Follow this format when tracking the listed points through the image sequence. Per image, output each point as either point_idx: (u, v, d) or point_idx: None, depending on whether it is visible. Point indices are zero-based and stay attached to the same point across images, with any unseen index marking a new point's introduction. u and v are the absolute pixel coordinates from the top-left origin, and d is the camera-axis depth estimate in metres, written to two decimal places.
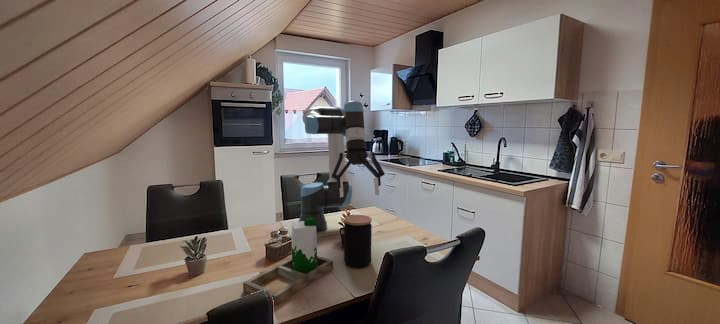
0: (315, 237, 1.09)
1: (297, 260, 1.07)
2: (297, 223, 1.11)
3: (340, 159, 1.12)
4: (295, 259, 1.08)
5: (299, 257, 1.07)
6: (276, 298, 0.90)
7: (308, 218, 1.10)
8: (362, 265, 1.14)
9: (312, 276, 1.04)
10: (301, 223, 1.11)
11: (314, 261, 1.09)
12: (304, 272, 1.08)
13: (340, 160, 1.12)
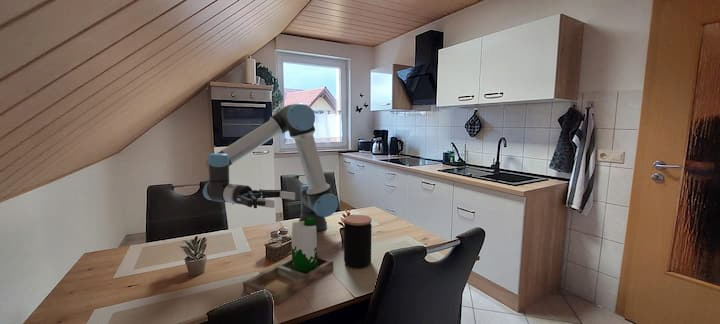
0: (315, 237, 1.09)
1: (297, 260, 1.07)
2: (297, 223, 1.11)
3: None
4: (295, 259, 1.08)
5: (299, 257, 1.07)
6: (276, 298, 0.90)
7: (308, 218, 1.10)
8: (362, 265, 1.14)
9: (312, 276, 1.04)
10: (301, 222, 1.11)
11: (314, 261, 1.09)
12: (304, 272, 1.08)
13: None
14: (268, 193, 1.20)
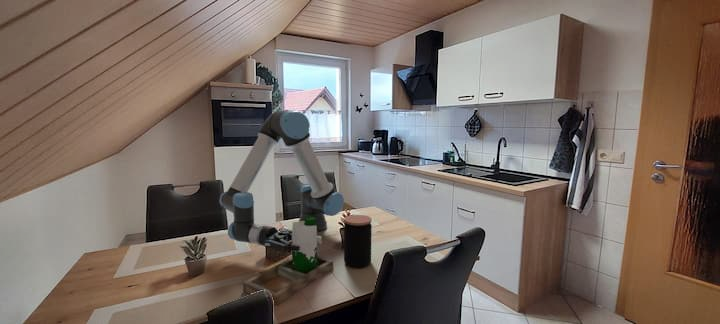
0: (315, 237, 1.09)
1: (297, 260, 1.07)
2: (297, 223, 1.11)
3: None
4: (295, 259, 1.08)
5: (300, 257, 1.07)
6: (276, 298, 0.90)
7: (308, 218, 1.11)
8: (362, 265, 1.14)
9: (312, 276, 1.04)
10: (301, 222, 1.11)
11: (315, 261, 1.09)
12: (304, 272, 1.08)
13: None
14: None
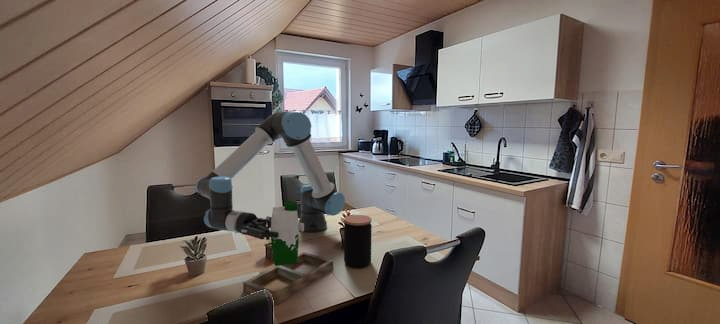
0: (296, 223, 1.00)
1: (276, 248, 0.99)
2: (277, 208, 1.03)
3: None
4: (274, 246, 0.99)
5: (279, 245, 0.98)
6: (276, 298, 0.90)
7: (289, 203, 1.02)
8: (362, 265, 1.14)
9: (312, 276, 1.04)
10: (281, 208, 1.02)
11: (296, 250, 1.01)
12: (284, 261, 1.00)
13: None
14: None
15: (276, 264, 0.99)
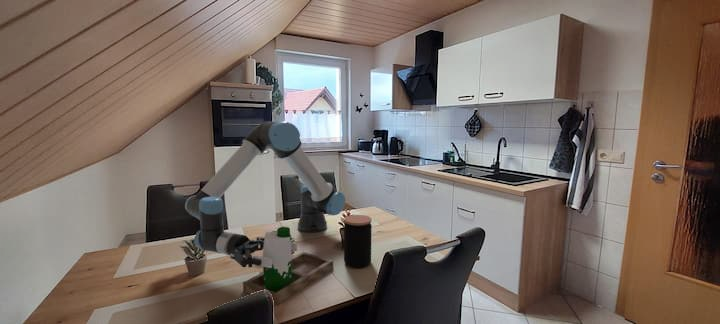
0: (289, 250, 0.97)
1: (268, 276, 0.96)
2: (270, 234, 1.00)
3: None
4: (266, 274, 0.97)
5: (271, 273, 0.96)
6: (276, 298, 0.90)
7: (282, 228, 0.99)
8: (362, 265, 1.14)
9: (312, 276, 1.04)
10: (274, 233, 1.00)
11: (288, 277, 0.98)
12: (276, 289, 0.97)
13: None
14: None
15: None
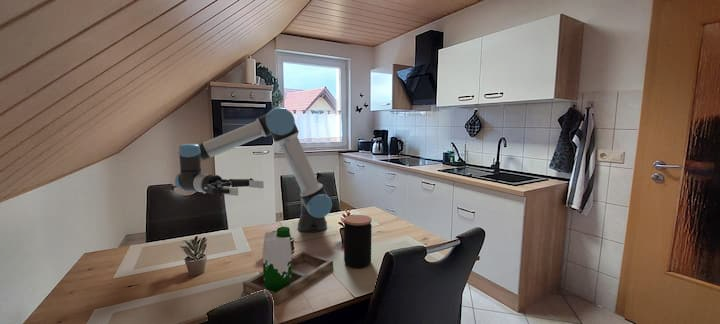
0: (288, 250, 0.97)
1: (268, 276, 0.96)
2: (269, 234, 1.00)
3: None
4: (266, 274, 0.97)
5: (271, 273, 0.96)
6: (276, 298, 0.90)
7: (281, 228, 0.99)
8: (362, 265, 1.14)
9: (312, 276, 1.04)
10: (274, 233, 1.00)
11: (288, 277, 0.98)
12: (276, 289, 0.97)
13: None
14: (237, 182, 1.22)
15: None
